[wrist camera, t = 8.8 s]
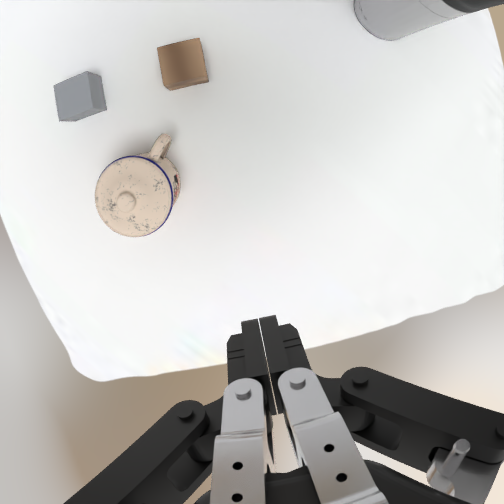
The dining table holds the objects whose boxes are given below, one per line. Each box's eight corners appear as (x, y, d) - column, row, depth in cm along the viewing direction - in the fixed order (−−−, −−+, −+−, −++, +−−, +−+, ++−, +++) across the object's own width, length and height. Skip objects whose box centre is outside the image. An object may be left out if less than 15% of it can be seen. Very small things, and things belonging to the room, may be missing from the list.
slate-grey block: (101, 76, 35) (87, 71, 30) (106, 109, 37) (93, 108, 32) (70, 88, 35) (53, 85, 30) (75, 121, 37) (59, 121, 32)
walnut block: (202, 47, 35) (199, 37, 30) (208, 82, 37) (206, 75, 32) (164, 56, 35) (157, 47, 30) (170, 90, 37) (163, 85, 32)
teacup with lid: (165, 228, 43) (147, 261, 32) (108, 200, 41) (73, 224, 30) (204, 149, 40) (197, 155, 29) (144, 120, 38) (116, 117, 27)
